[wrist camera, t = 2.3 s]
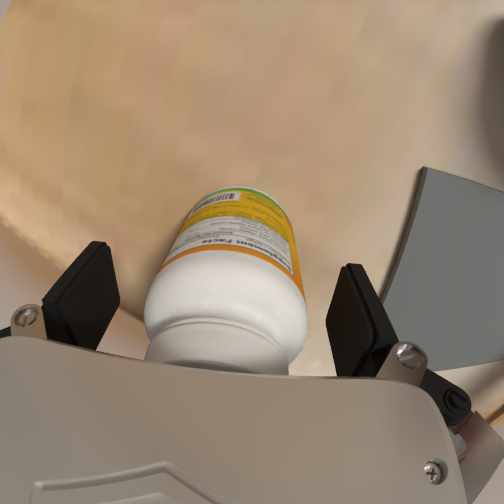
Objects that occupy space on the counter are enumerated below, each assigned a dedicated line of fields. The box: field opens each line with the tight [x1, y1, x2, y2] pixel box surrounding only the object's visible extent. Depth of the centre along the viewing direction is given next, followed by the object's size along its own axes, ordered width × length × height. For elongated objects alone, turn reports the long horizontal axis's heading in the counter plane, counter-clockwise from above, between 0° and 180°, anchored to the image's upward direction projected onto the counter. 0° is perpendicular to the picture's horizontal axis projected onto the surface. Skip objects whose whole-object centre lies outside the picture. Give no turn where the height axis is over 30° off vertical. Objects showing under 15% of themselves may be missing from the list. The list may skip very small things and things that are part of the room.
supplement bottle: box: [144, 186, 308, 376], centre depth 11 cm, size 5×5×10 cm
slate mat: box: [381, 166, 504, 372], centre depth 17 cm, size 20×16×1 cm
